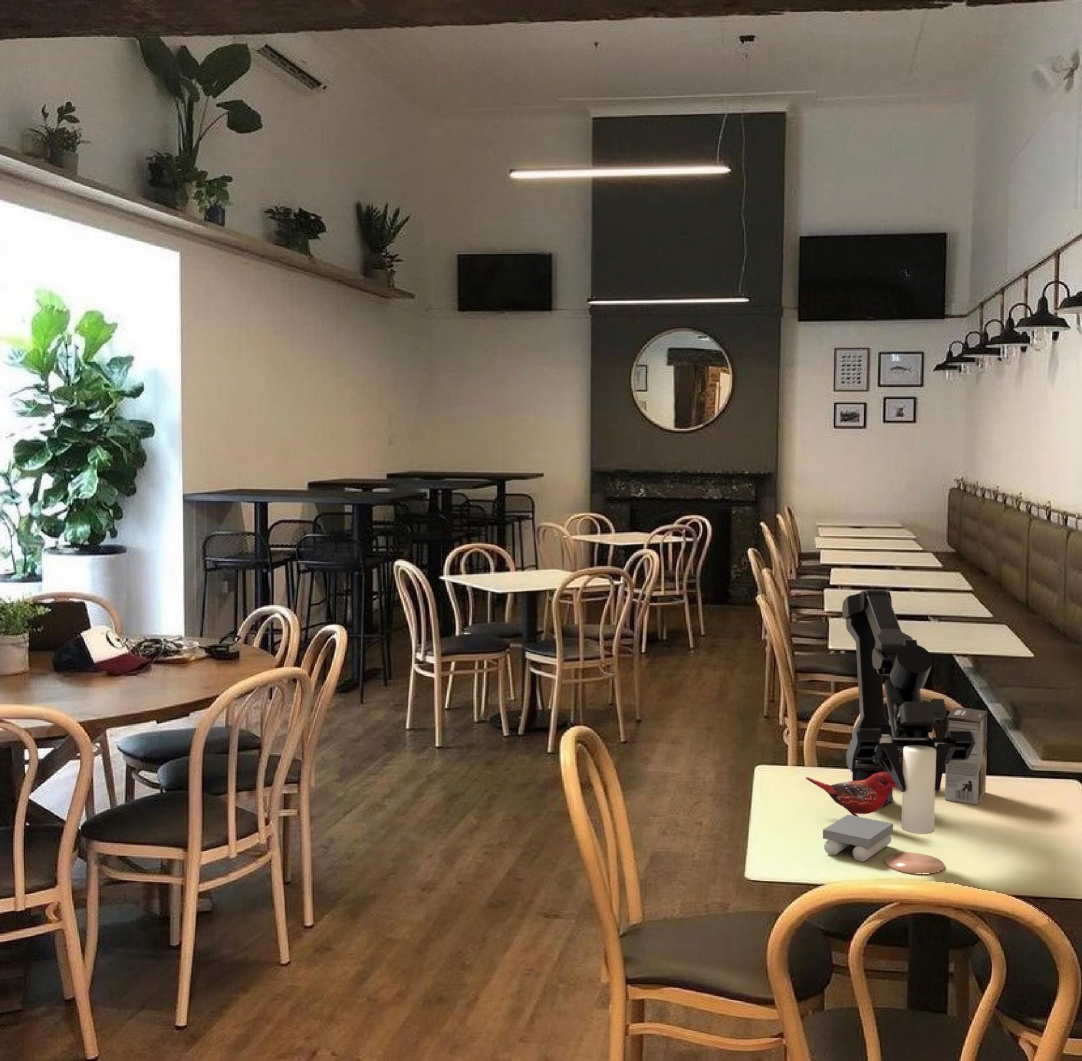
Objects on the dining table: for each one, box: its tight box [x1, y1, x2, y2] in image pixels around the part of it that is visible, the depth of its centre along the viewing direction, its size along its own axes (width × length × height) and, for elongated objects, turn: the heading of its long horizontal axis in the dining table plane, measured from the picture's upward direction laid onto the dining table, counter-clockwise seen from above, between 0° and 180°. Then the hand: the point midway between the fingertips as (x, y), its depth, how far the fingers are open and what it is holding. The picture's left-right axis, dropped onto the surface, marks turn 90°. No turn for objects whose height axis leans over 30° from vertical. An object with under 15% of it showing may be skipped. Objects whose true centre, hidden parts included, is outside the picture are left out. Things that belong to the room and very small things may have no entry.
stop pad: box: [884, 852, 945, 875], centre depth 196 cm, size 9×9×1 cm
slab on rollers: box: [822, 814, 894, 863], centre depth 203 cm, size 8×10×4 cm
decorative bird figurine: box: [805, 772, 898, 817], centre depth 218 cm, size 3×18×10 cm, turn 50°
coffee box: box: [944, 707, 988, 805], centre depth 232 cm, size 9×6×16 cm
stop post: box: [900, 745, 936, 835], centre depth 195 cm, size 5×5×13 cm
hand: (920, 791), depth 194 cm, fingers closed on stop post, 5 cm apart
